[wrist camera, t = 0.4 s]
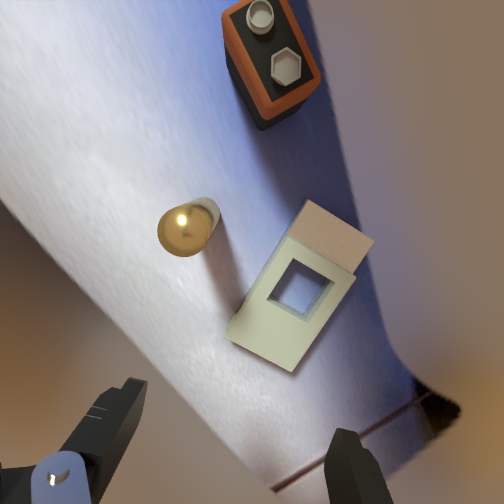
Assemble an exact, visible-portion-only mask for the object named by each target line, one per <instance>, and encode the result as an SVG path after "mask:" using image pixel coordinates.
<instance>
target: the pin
mask: <svg viewBox="0 0 504 504" xmlns="http://www.w3.org/2000/svg"><path fill="white" fill-rule="evenodd" d="M219 219H220V209H219V207H218V205H217V204H216V203H215V202H214V201H213V200H211V199H209V198H198V199H196V200H193V201H191V202H188V203H186V204H183V205H181V206H178V207H176V208H173V209H171V210H169V211H167V212H166V213H165V214H164V215H163V216H162V218H161V219H160V221H159V224H158V229H157V233H158V238H159V241H160V243H161V245H162V246H163V247H164V249H165V250H167V251H168V252H169V253H171V254H173V255H175V256H179V257H189V256H193V255H195V254H197V253H198V252H200V251H201V250H202V249H203V248H204V246H205V245H206V243H207V241H208V239H209V237H210V236H211V234H212V232H213V230H214V228H215V227H216V225H217V223H218V221H219Z"/></svg>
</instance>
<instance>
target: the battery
mask: <svg viewBox="0 0 504 504" xmlns="http://www.w3.org/2000/svg"><path fill="white" fill-rule="evenodd" d="M221 20H222V29H223V38H224V46H225V55H226V64H227V68H228V70H229V72H230V74H231V76H232V78H233V80H234V82H235V84H236V86H237V88H238V90H239V92H240V94H241V96H242V98H243V100H244V102H245V104H246V106H247V108H248V109H249V111H250V113H251V115H252V117H253V119H254V121H255V123H256V125H257V127H258V128H259V129H260V130H262V131H263V130H265V129H267V128H269V127H271V126H272V125H274V124H276V123H278V122H279V121H281V120H283V119H285V118H286V117H288V116H290V115H292V114H293V113H295V112H297V111H298V110H299V109H300V107H301V106H302V105H303V104H304V103H305V101H306V100H307V99H308V98H309V96H310V95H311V94H312V93H313V91H314V90H315V89H316V88H317V86H318V85H319V84H320V82H321V74H320V72H319V69H318V67H317V65H316V63H315V60H314V58H313V56H312V54H311V51H310V49H309V47H308V45H307V43H306V40H305V38H304V36H303V34H302V31H301V29H300V27H299V25H298V22H297V20H296V18H295V16H294V14H293V11H292V9H291V7H290V5H289V2H288V0H241V1H240V2H238V3H236V4H235V5H233V6H232V7H230V8H228V9H227V10H225V11H224V12H223V13H222V17H221Z"/></svg>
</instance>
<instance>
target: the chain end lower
mask: <svg viewBox="0 0 504 504" xmlns="http://www.w3.org/2000/svg"><path fill="white" fill-rule="evenodd" d="M286 235H288V236H289V237H291V238H293V239H294V240H296V241H298V242H300V243H301V244H303V245H305V246H306V247H308V248H310V249H311V250H313V251H315V252H316V253H318V254H320V255H321V256H323V257H325V258H326V259H328V260H330V261H331V262H333V263H335V264H336V265H338V266H340V267H341V268H343V269H345V270H346V271H348V272H350V273H351V274H353V273H354V271H355V270H356V268H357V267H358V265H359V264H360V262H361V261H362V259H363V258H364V256H365V255H366V254H367V252H368V251H369V249H370V248H371V246H372V245H373V243H374V242H375V241H374V240H373V239H371V238H370V237H368V236H366V235H365V234H363V233H362V232H360V231H358V230H357V229H355V228H354V227H352V226H350V225H349V224H347V223H346V222H344V221H342V220H341V219H339V218H337V217H336V216H334V215H333V214H331V213H329V212H328V211H326V210H325V209H323V208H321V207H320V206H318V205H317V204H315V203H313V202H312V201H310V200H309V199H306V200H305V201H304V203H303V204H302V206H301V208H300V209H299V211H298V212H297V214H296V216H295V217H294V219H293V221H292V222H291V224H290V225H289V227H288V229H287V230H286V232H285V233H284V235H283V237H282V238H281V240H280V241H279V243H278V245H277V246H276V248H275V249H274V251H273V253H272V254H271V256H270V257H269V259H268V261H267V262H266V264H265V265H264V267H263V269H262V270H261V272H260V273H259V275H258V277H257V278H256V280H255V281H254V283H253V285H252V286H251V288H250V289H249V291H248V293H247V294H246V296H245V300H246V299H247V297H248V295H249V294H250V292H251V291H252V289H253V287H254V286H255V284H256V283H257V281H258V279H259V278H260V276H261V275H262V273H263V271H264V270H265V268H266V267H267V265H268V263H269V262H270V260H271V259H272V257H273V255H274V254H275V252H276V251H277V249H278V247H279V246H280V244H281V243H282V241H283V240H284V238H285V236H286ZM330 282H331V280H330V279H328V278H327V280H326V281H325V282H324V284H323V285H322V287H321V288H320V290H319V291H318V293H317V294H316V296H315V297H314V299H313V300H312V302H311V303H310V305H309V306H308V308H307V309H306V311H305V312H304V314H303V313H301V312H299V311H297V310H296V309H294V308H292V307H290V306H288V305H287V304H285V303H283V302H281V301H279V300H278V299H276V298H274V297H272V296H271V295H269V296H268V298H270V299H272V300H273V301H275V302H277V303H279V304H280V305H282V306H284V307H286V308H288V309H289V310H291V311H293V312H295V313H297V314H298V315H300V316H302V317H304V318H306V317H307V316H308V314H309V313H310V311H311V310H312V308H313V307H314V305H315V304H316V303H317V301H318V300H319V298H320V297H321V295H322V294H323V292H324V291H325V289H326V288H327V286H328V285H329V283H330Z"/></svg>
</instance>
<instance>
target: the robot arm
mask: <svg viewBox="0 0 504 504" xmlns="http://www.w3.org/2000/svg"><path fill="white" fill-rule="evenodd" d="M147 384H148V383H147V381H144V380H140V379H136V378H132V377H129V378H128V380H127V381H126V383H125V384H124V385H123V387H122V388H121V389H118V388H113V387H112V388H110V389H108V390H107V391H105V392H104V393H102V394H101V395H100V396H99V397H98V399H97V400H96V401H95V403H94V404H93V406H92V407H91V408H90V409H89V411H88V412H87V413H86V416H84V418H83V419H82V420H81V422H80V423H79V424H78V426H77V427H76V428H75V430H74V431H73V432H72V434H71V435H70V436H69V438H68V439H67V440H66V442H65V443H64V445H63V446H62V447H61V449H60V450H59V451H58V452H56V453H53V454H51V455H49V456H47V457H46V458H44V459H43V460H42V461H40V462H39V463H38V464H37V465H34V466H30V467H19V468H7V469H2V466H1V463H0V504H99V502H100V500H101V498H102V496H103V494H104V492H105V490H106V488H107V486H108V485H109V483H110V481H111V479H112V476H113V474H114V472H115V470H116V469H117V467H118V464H119V462H120V461H121V459H122V456H123V455H124V453H125V451H126V449H127V446H128V445H129V443H130V440H131V439H132V437H133V435H134V433H135V431H136V429H137V426H138V424H139V421H140V418H141V415H142V411H143V406H144V401H145V395H146V390H147ZM324 473H325V479H326V484H327V489H328V494H329V499H330V504H394V503H393V501H392V498H391V495H390V493H389V490H388V489H387V485H386V482H385V480H384V478H383V475H382V472H381V469H380V467H379V464H378V462H377V460H376V459H375V458H374V456H373V455H372V454H371V452H370V451H369V450H368V449H365V448H363V447H362V445H361V442H360V439H359V436H358V434H357V433H356V432H354V431H349V430H345V429H341V428H337V429H336V431H335V433H334V436H333V439H332V441H331V444H330V446H329V449H328V452H327V454H326V457H325V463H324Z"/></svg>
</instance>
